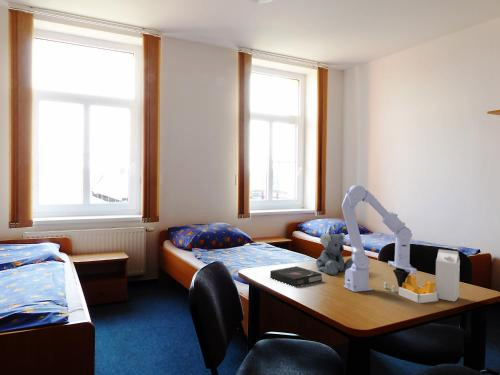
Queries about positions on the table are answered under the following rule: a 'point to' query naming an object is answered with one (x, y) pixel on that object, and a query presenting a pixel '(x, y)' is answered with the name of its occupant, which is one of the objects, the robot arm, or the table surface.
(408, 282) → the pipe clamp
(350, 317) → the table surface
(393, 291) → the clips
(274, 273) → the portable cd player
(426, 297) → the end holder
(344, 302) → the table surface
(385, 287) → the small blocks
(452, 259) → the milk carton
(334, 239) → the koala plush
